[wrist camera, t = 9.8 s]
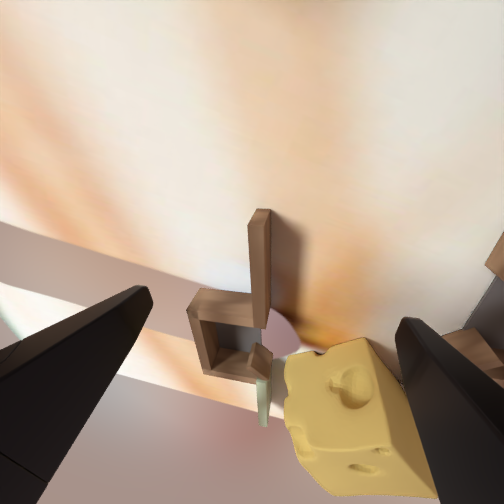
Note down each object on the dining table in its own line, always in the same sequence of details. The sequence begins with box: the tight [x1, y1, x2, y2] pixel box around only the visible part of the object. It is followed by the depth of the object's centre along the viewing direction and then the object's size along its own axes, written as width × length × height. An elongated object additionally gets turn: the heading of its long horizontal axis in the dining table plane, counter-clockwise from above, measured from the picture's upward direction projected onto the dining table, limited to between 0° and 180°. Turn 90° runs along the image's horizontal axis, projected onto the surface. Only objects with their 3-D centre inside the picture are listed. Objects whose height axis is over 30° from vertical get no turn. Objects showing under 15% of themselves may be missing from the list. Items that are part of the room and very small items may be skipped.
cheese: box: [284, 338, 438, 499], centre depth 24 cm, size 10×11×10 cm
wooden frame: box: [186, 209, 504, 427], centre depth 24 cm, size 33×31×4 cm
